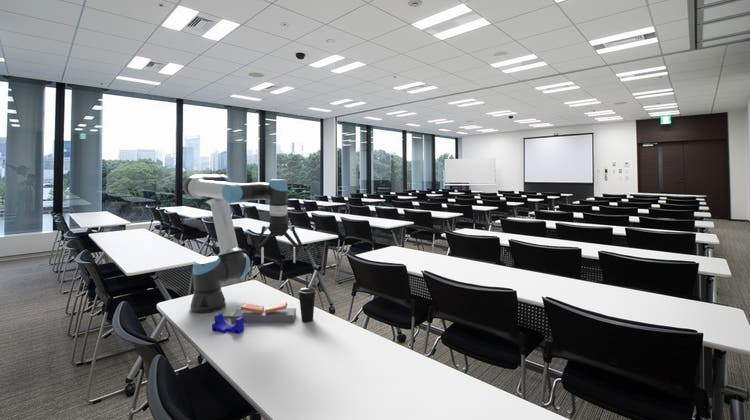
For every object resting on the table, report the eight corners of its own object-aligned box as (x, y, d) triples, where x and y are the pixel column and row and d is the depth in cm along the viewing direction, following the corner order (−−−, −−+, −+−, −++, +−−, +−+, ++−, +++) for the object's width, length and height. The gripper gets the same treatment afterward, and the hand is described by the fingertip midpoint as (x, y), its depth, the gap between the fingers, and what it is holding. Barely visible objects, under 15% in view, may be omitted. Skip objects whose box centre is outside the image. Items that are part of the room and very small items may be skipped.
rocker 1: (240, 309, 154) (240, 306, 154) (243, 305, 158) (243, 302, 158) (261, 313, 155) (261, 310, 155) (263, 309, 159) (264, 306, 159)
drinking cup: (318, 317, 160) (317, 273, 158) (313, 324, 153) (313, 278, 151) (301, 316, 161) (300, 272, 159) (296, 323, 154) (295, 277, 151)
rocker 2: (265, 313, 155) (264, 310, 155) (267, 309, 159) (266, 306, 159) (285, 308, 155) (285, 305, 155) (287, 305, 160) (286, 301, 160)
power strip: (219, 324, 152) (218, 316, 152) (225, 316, 160) (225, 309, 160) (293, 322, 154) (293, 315, 154) (296, 314, 162) (295, 307, 162)
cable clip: (212, 331, 146) (211, 317, 145) (220, 327, 150) (219, 313, 149) (236, 336, 142) (236, 321, 141) (244, 331, 146) (243, 317, 145)
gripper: (247, 216, 150) (247, 265, 152) (307, 216, 155) (307, 263, 158) (249, 213, 157) (250, 260, 160) (307, 213, 162) (307, 259, 165)
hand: (278, 262), depth 159 cm, fingers open, 13 cm apart
